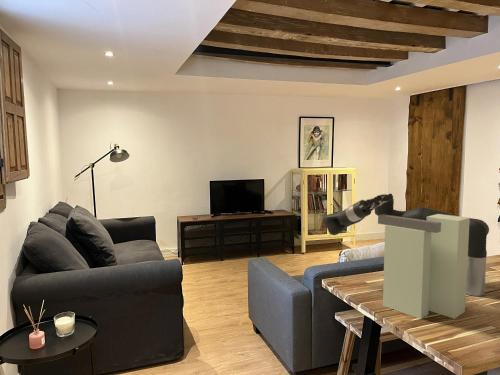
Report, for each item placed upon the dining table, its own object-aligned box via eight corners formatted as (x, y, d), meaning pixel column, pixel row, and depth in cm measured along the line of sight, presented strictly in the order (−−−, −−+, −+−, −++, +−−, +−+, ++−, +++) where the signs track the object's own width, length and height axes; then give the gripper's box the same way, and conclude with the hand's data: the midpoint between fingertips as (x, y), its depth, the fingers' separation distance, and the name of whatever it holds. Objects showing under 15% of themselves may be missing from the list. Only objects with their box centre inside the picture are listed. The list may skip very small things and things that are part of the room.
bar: (382, 222, 156) (382, 214, 155) (440, 231, 137) (441, 222, 137) (377, 223, 154) (378, 215, 153) (436, 233, 135) (436, 223, 135)
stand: (434, 302, 156) (438, 213, 152) (465, 311, 147) (469, 217, 143) (423, 308, 150) (426, 216, 146) (454, 318, 141) (458, 220, 137)
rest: (390, 302, 157) (392, 223, 153) (428, 314, 144) (431, 229, 141) (382, 305, 153) (385, 225, 150) (420, 319, 140) (424, 231, 137)
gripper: (345, 205, 165) (373, 189, 154) (363, 202, 174) (391, 187, 163) (352, 220, 163) (381, 205, 151) (370, 216, 172) (399, 202, 160)
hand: (386, 196), depth 157 cm, fingers open, 8 cm apart
